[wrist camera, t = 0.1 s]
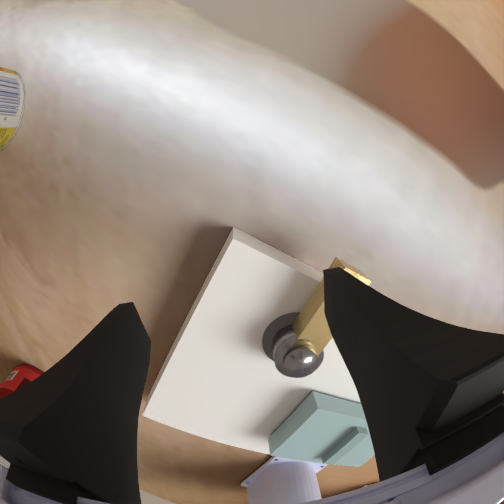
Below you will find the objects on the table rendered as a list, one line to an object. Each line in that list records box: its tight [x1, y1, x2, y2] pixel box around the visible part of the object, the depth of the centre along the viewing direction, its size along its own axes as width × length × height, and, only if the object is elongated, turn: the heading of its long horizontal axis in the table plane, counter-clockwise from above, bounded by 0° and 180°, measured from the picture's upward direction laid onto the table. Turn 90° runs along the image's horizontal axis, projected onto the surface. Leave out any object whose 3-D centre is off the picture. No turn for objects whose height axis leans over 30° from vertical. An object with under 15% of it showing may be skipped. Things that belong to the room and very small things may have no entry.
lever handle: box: [272, 257, 371, 378], centre depth 18 cm, size 8×3×2 cm, turn 152°
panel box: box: [143, 227, 361, 454], centre depth 23 cm, size 18×22×3 cm
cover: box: [268, 391, 375, 467], centre depth 22 cm, size 7×11×3 cm, turn 62°
